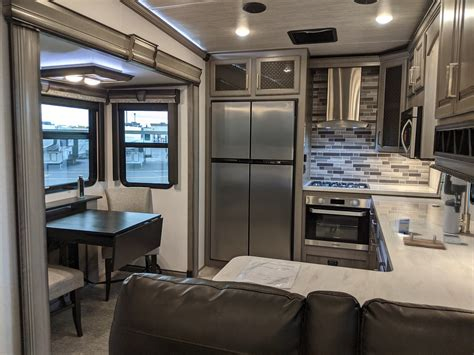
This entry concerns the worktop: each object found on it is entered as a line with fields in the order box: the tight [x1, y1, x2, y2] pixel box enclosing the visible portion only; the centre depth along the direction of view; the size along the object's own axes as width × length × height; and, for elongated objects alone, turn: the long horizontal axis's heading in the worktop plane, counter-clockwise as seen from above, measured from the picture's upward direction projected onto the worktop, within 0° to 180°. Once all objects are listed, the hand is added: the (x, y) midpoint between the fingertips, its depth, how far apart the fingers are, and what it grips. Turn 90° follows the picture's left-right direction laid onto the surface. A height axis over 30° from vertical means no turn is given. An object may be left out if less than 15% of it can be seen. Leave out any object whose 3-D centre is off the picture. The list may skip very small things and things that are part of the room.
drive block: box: [441, 233, 462, 245], centre depth 219 cm, size 5×9×4 cm, turn 67°
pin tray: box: [402, 232, 445, 250], centre depth 214 cm, size 14×20×5 cm
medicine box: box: [393, 217, 411, 234], centre depth 240 cm, size 8×4×9 cm, turn 105°
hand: (456, 211), depth 215 cm, fingers open, 8 cm apart
